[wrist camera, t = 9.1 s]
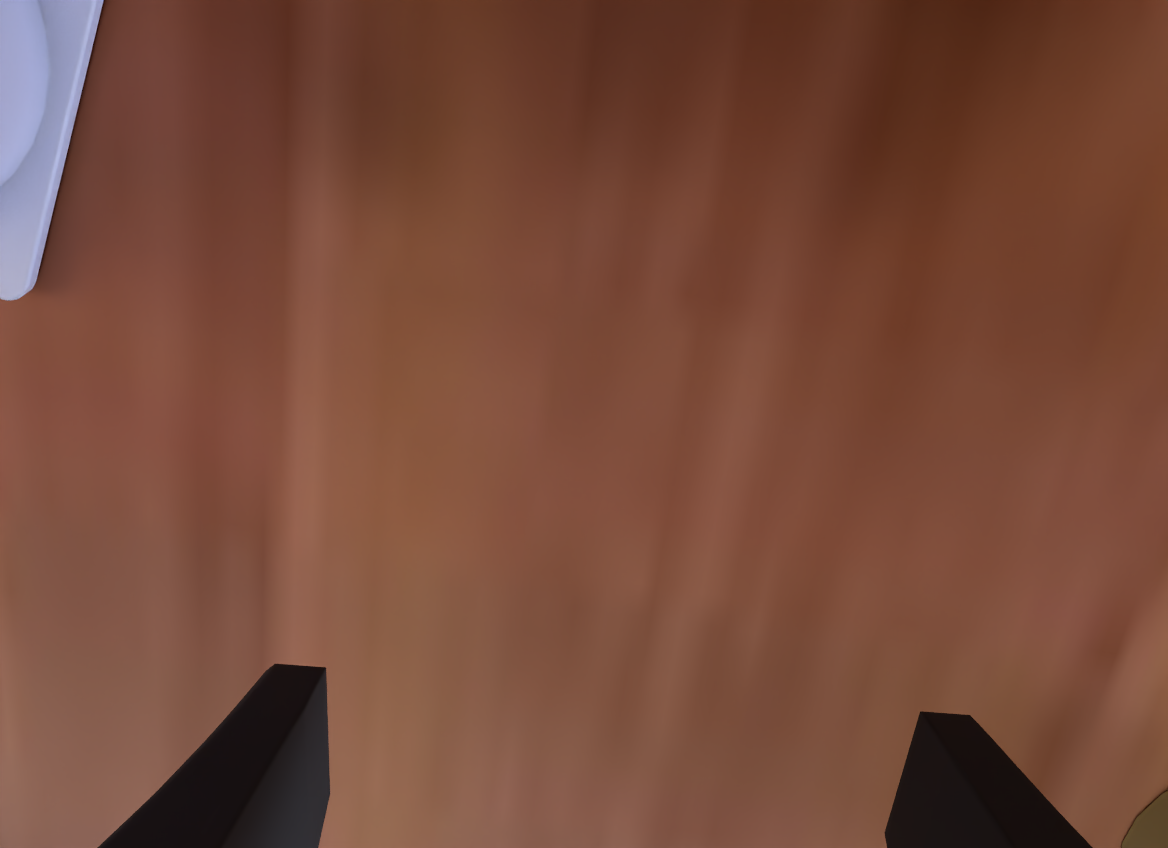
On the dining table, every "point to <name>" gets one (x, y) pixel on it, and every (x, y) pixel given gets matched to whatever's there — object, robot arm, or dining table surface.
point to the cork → (1150, 826)
